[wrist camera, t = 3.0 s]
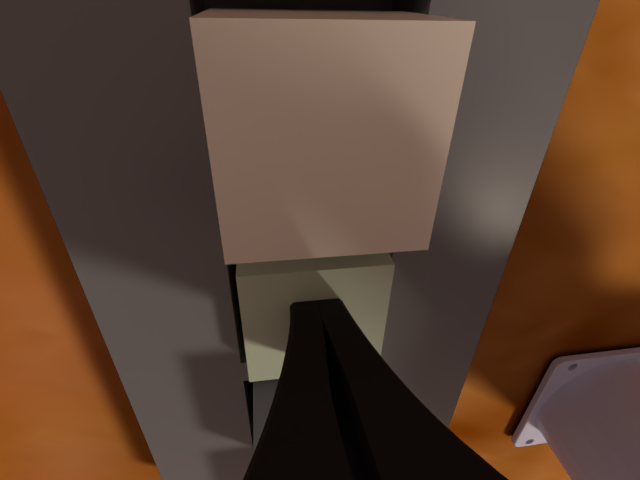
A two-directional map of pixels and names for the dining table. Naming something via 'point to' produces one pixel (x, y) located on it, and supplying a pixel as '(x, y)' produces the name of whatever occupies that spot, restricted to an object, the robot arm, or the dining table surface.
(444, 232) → the keypad board
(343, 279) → the key sage
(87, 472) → the dining table surface
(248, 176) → the key ivory
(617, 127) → the dining table surface
